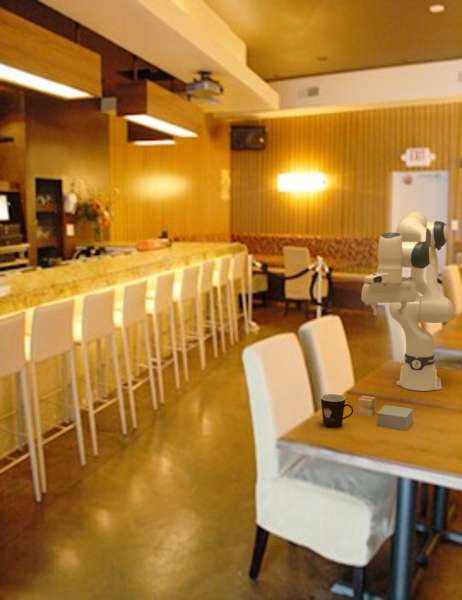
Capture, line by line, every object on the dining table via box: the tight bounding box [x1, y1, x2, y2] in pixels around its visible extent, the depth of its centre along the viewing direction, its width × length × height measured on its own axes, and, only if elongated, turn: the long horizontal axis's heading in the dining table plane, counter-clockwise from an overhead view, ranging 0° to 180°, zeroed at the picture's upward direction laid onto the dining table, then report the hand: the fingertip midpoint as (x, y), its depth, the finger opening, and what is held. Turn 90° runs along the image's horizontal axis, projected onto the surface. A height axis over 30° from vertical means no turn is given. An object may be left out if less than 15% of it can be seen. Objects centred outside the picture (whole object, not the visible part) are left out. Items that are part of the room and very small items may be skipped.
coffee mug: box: [320, 393, 354, 429], centre depth 210 cm, size 12×9×10 cm
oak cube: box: [357, 395, 376, 417], centre depth 223 cm, size 5×5×6 cm
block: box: [376, 404, 414, 431], centre depth 212 cm, size 10×10×5 cm
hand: (388, 314), depth 223 cm, fingers open, 8 cm apart
